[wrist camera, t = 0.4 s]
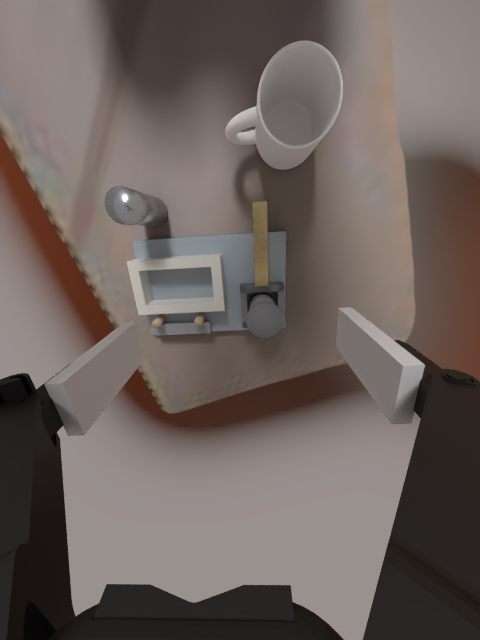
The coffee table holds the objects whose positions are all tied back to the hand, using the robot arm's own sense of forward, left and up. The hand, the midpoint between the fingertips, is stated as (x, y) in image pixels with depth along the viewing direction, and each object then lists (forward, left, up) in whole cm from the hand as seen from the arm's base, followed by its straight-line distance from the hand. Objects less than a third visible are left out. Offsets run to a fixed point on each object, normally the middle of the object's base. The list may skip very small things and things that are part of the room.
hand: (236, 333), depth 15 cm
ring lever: (0, +3, -24) cm, 24 cm away
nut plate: (+2, -5, -26) cm, 26 cm away
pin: (-10, -13, -26) cm, 30 cm away
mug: (-18, +5, -26) cm, 32 cm away
